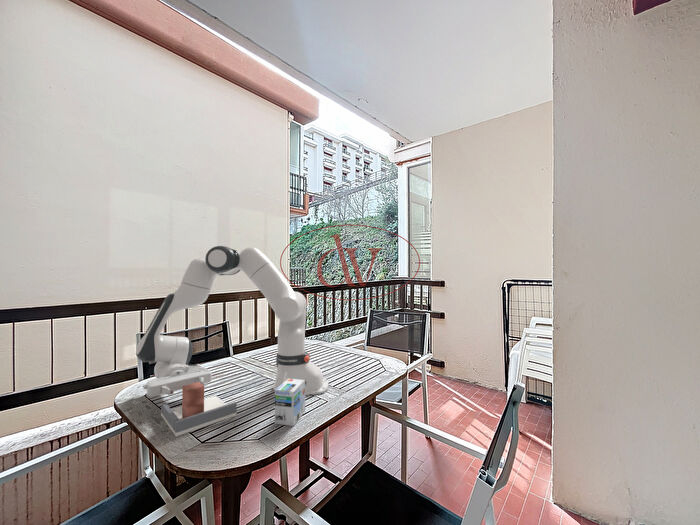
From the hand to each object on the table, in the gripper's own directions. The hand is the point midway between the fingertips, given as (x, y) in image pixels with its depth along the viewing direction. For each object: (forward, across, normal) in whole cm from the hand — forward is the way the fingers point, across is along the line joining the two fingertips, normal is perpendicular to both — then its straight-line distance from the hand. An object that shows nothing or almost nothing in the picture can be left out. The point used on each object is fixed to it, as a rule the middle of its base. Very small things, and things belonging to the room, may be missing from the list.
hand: (187, 388), depth 101 cm
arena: (+4, +3, +9) cm, 10 cm away
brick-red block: (+6, 0, +8) cm, 10 cm away
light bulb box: (+26, +24, +9) cm, 37 cm away
